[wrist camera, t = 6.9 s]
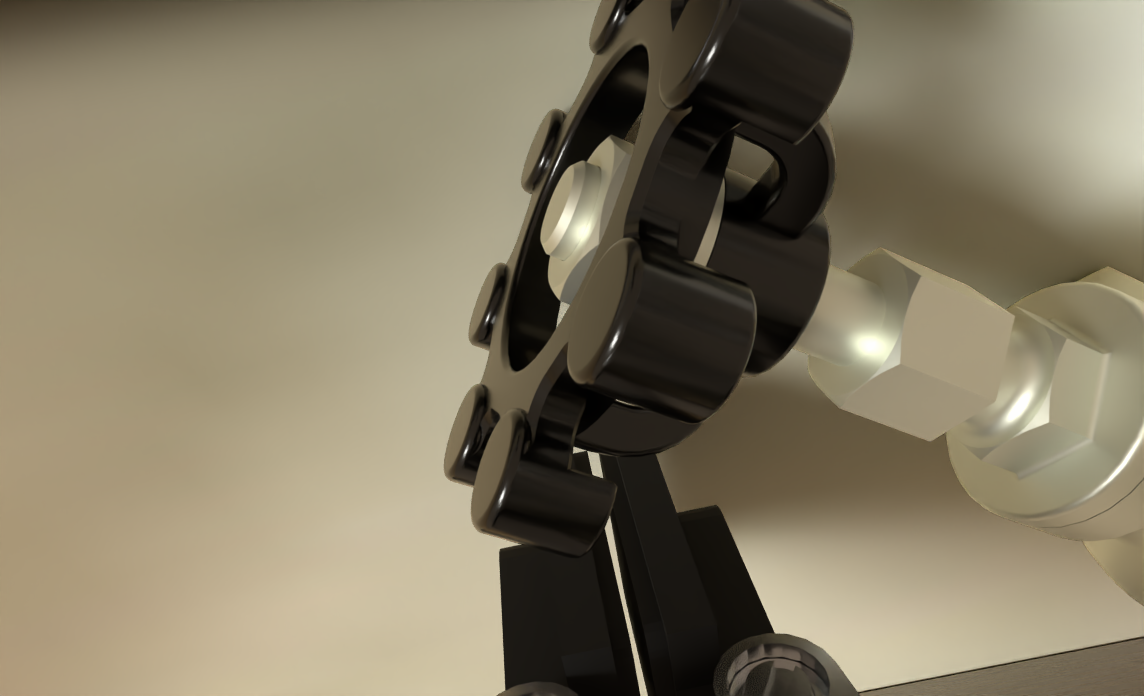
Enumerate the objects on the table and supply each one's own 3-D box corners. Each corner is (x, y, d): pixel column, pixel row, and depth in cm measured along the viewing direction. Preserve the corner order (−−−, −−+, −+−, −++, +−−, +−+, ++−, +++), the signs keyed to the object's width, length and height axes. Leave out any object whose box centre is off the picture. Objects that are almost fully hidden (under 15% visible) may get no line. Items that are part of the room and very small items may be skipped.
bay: (1931, -448, 10) (2461, -585, 7) (1464, 608, 18) (1638, 730, 15) (-435, -23, 10) (-785, -2, 7) (146, 865, 17) (85, 1036, 15)
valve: (1307, 237, 13) (637, -115, 10) (1978, 462, 8) (877, -211, 4) (1059, 555, 16) (446, 348, 13) (1422, 922, 10) (430, 703, 7)
